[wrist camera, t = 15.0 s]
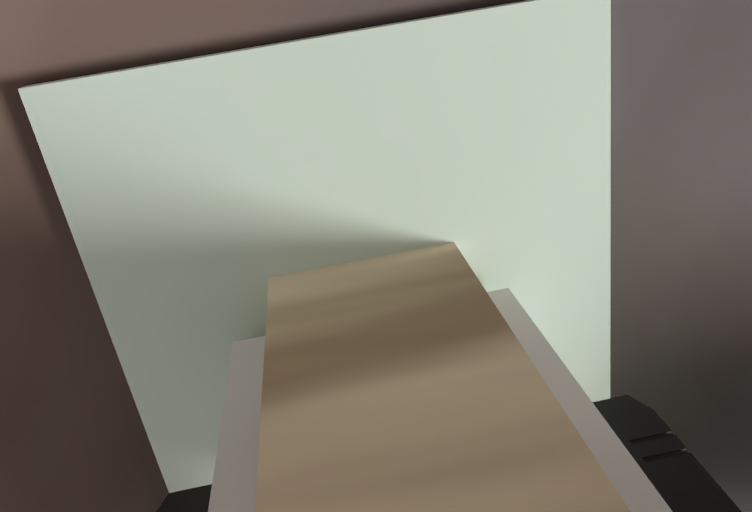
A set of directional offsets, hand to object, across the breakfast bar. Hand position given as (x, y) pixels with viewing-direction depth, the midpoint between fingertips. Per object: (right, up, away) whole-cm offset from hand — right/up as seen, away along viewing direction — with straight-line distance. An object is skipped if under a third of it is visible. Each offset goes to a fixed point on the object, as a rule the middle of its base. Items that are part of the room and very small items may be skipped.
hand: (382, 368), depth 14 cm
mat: (0, 0, +1) cm, 1 cm away
